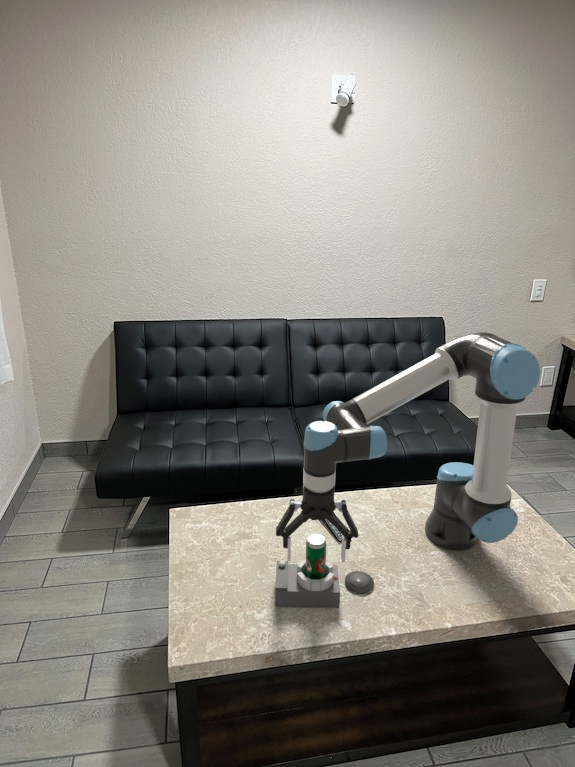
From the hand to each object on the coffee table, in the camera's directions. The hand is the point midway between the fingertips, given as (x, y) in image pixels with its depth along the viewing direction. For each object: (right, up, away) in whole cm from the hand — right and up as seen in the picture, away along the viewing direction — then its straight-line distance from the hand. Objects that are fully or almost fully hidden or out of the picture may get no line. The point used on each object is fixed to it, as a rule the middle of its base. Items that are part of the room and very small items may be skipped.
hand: (315, 558), depth 135 cm
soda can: (0, -6, +2) cm, 6 cm away
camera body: (-2, -10, +4) cm, 11 cm away
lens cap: (+12, -9, +8) cm, 17 cm away
